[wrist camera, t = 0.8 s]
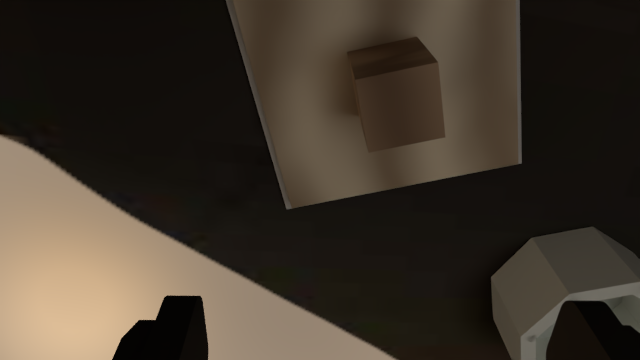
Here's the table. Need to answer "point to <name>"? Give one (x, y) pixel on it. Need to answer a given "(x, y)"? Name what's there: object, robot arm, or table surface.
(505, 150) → the lid
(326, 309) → the table surface
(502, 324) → the bowl
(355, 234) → the table surface
